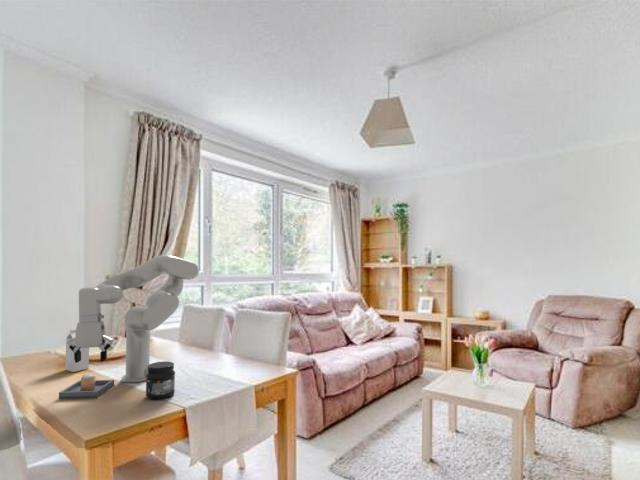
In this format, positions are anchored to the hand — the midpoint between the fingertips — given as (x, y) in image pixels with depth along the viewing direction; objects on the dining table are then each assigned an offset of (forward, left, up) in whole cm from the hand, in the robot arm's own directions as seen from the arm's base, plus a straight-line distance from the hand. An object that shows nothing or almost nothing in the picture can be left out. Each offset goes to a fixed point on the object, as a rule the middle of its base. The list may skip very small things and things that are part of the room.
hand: (90, 361), depth 153 cm
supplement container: (-29, +7, -12) cm, 33 cm away
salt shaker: (+1, +1, -11) cm, 11 cm away
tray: (+1, +1, -12) cm, 12 cm away
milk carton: (+22, -31, -12) cm, 40 cm away
